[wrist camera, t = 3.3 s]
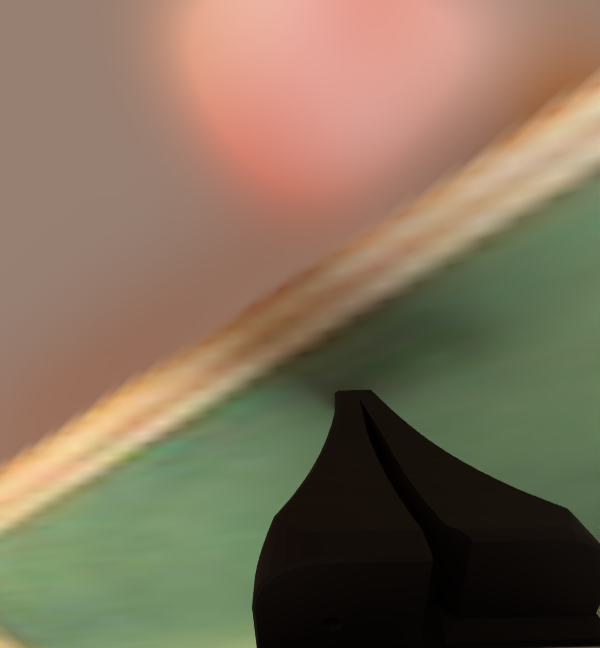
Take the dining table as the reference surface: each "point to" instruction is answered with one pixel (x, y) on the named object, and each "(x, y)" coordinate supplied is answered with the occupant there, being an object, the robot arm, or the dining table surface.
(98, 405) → the dining table surface
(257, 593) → the robot arm
